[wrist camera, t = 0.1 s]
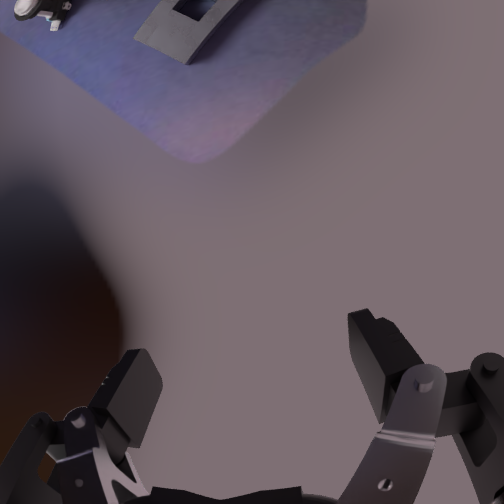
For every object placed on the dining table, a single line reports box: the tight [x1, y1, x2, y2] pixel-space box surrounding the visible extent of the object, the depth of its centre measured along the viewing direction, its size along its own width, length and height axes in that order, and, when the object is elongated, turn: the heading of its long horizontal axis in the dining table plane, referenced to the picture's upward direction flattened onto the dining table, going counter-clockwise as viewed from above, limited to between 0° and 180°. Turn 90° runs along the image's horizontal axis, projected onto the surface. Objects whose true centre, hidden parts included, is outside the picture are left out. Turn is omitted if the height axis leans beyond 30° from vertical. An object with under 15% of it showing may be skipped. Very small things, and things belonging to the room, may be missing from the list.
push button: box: [14, 0, 71, 31], centre depth 14 cm, size 7×5×10 cm
